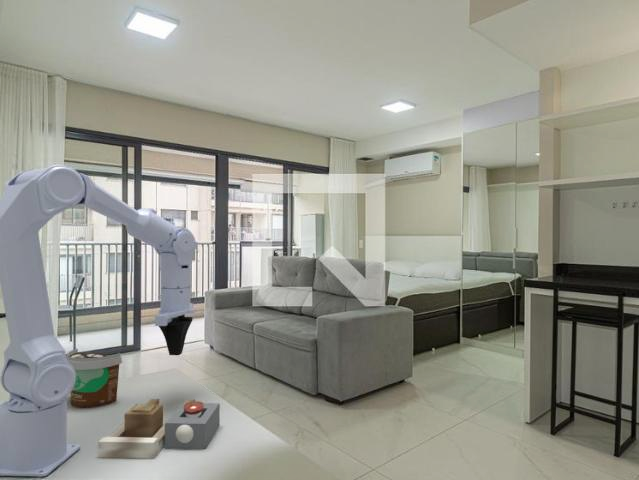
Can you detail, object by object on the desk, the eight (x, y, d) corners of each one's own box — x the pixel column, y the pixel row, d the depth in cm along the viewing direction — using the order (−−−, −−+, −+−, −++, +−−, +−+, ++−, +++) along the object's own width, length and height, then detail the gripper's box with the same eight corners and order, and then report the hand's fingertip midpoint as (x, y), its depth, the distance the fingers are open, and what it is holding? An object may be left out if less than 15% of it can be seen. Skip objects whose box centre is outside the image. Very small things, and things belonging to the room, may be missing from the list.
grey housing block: (164, 448, 64) (164, 423, 64) (183, 425, 72) (183, 402, 72) (204, 449, 64) (204, 424, 64) (219, 425, 72) (219, 403, 72)
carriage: (124, 444, 65) (124, 412, 65) (136, 433, 69) (136, 402, 69) (152, 445, 65) (152, 412, 65) (162, 433, 69) (162, 402, 69)
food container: (48, 406, 80) (48, 356, 80) (75, 395, 86) (75, 348, 86) (97, 414, 77) (97, 361, 77) (122, 401, 82) (122, 353, 82)
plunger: (180, 438, 66) (180, 408, 66) (187, 428, 70) (187, 401, 70) (199, 438, 66) (199, 409, 66) (206, 429, 69) (206, 401, 69)
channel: (98, 457, 61) (98, 441, 61) (151, 408, 79) (151, 395, 79) (153, 458, 61) (153, 442, 61) (194, 408, 79) (194, 396, 79)
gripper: (181, 291, 74) (181, 365, 74) (206, 283, 89) (206, 345, 89) (143, 291, 75) (144, 365, 75) (174, 283, 89) (174, 344, 89)
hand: (175, 354), depth 82 cm, fingers closed
